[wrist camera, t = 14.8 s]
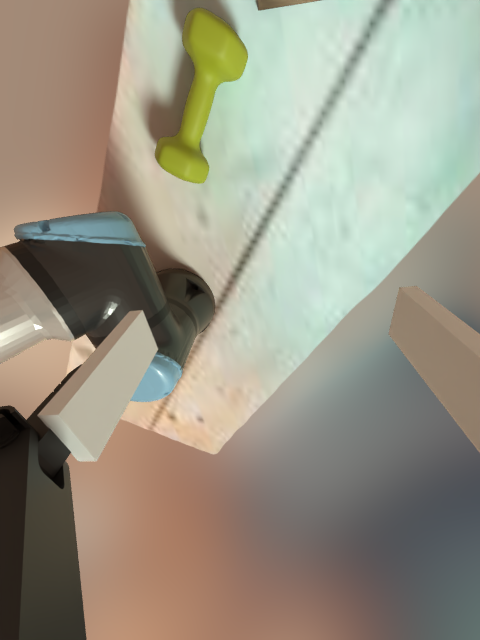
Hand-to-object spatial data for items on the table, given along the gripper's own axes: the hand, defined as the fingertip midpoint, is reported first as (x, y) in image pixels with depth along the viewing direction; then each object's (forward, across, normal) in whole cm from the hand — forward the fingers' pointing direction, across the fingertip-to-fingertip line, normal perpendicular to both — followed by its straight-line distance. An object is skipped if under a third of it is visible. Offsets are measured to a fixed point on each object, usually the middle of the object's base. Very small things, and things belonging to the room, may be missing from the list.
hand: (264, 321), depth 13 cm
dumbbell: (+34, -7, +14) cm, 37 cm away
